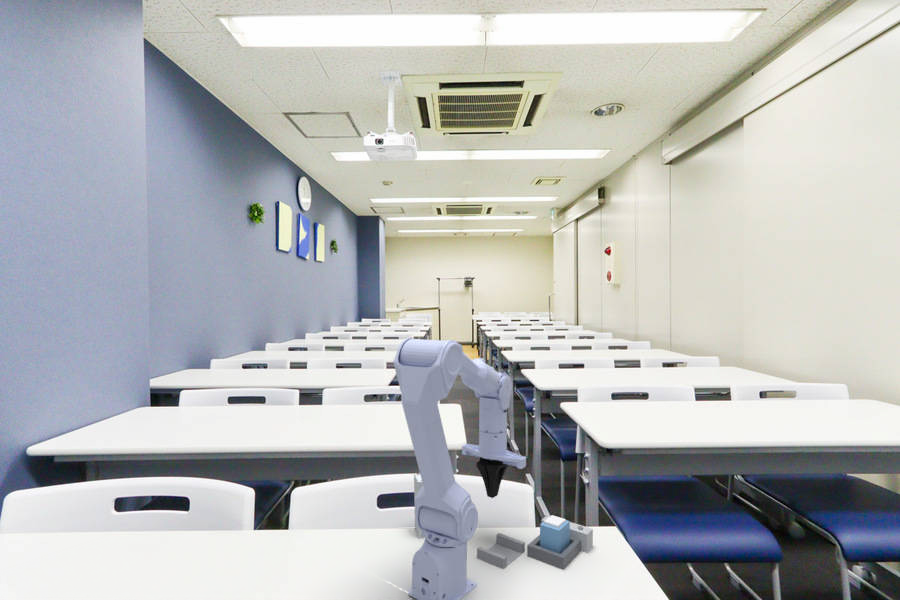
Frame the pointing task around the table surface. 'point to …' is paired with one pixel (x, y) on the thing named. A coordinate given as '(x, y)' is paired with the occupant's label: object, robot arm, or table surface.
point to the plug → (555, 534)
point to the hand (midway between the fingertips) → (492, 495)
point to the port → (578, 542)
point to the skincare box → (417, 486)
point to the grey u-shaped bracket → (502, 551)
